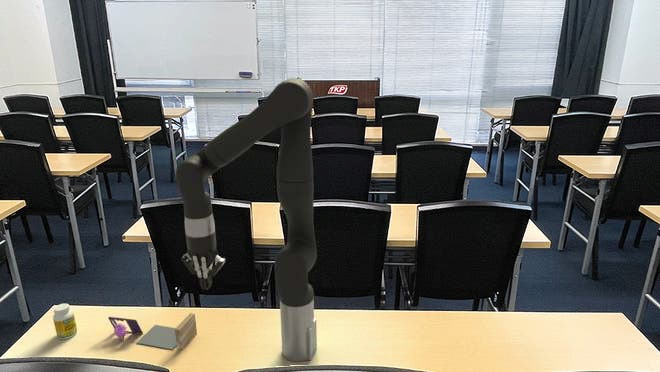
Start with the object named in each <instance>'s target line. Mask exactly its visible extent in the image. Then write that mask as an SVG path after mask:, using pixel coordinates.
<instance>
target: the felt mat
mask: <svg viewBox="0 0 660 372" xmlns="http://www.w3.org/2000/svg"><path fill="white" fill-rule="evenodd" d="M175 328H176V327H171V326H165V325H159V324H154V325H153V326H152V327H151V328H150V329H149V330H148V331H147V332H146V333H145V334H144V335H142V337H140V338H139V340H137V342H136V344H138V345H142V346H148V347H154V348H159V349H165V350H170V351H173V350H174V349H175V348H177V343H176V336H175Z"/></svg>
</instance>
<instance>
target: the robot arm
mask: <svg viewBox="0 0 660 372" xmlns="http://www.w3.org/2000/svg"><path fill="white" fill-rule="evenodd" d="M313 104H314V94H313V91H312V89H311V87H310V85H309V84H308V83H307V82H306V81H304V80H303V79H301V78H297V77H294V78H289V79H286V80H284V81H281V82H280V83H278V84H277V85H276V86H275V87H274V89H273V90H272V91H271V92H270V93H269V95H267V97H266V98H265V99H264V100H263V101H262V102H261V103H260V104H259V105H257V107H256V108H254V110H252V111H251V112H250V113H248V115H246V116H245V117H243V118H242V119H240V120H238V121H237V122H235V123H234V124H232V125H231V126H229V127H228V128H226V129H225V130H224V131H222V132H221V133H220V134H218V135H216V136H215V137H214V138H213V139H211V140H210V141H209V142H208V143H207V144H206V145H205V146H204V147H203V148H201V149H200V150H198V151H196V152H195V153H194V154H192V155H190V156H189V157H187V158H186V159H184V160H182V161H181V162H179V164H178V165H177V167H176V169H175V182H176V186H177V188H178V191H179V194H180V196H181V199H182V201H183V214H184V230H185V240H186V246H187V248H186V249H187V252H186V253H185V254H183V256H181V257H180V261H181V262H182V263H183V264H184V266H185V267H186V268H187V270H188V271H189V272H190V273H191V274H192V275H193V276H197V277H198V279H199V286H200V288H201V289H202V290H204V291H205V290H207V291H208V290H209V289H210V288H211V286H212V285H213V281H212V278H213V277H214V276H215V275H216V274H217V273H218V272H219V271H220V270H221V268H222V267H223V265H224V264H225V263H226V262H227V259H226V257H221V256H219V252H218V250H217V239H216V238H217V236H216V228H215V227H216V226H215V219H214V213H213V206H212V205H213V203H212V198H211V195H210V193H209V192H207V191H206V190H205V185H204V183H205V182H204V181H206V180H208V178H209V177H211V176H212V175H213V174H214V173H216V172H217V171H218V170H220V169H221V168H222V167H225V166H226V165H228V164H230V163H231V162H233V161H234V160H235V159H236V158H238V157H240V156H241V155H242V154H244V153H245V152H246V151H248V150H249V149H250V148H251V147H252V146H254V145H255V144H256V143H257V142H258V141H259V140H261V139H262V138H264V137H265V136H267V135H268V134H269V133H271V132H273V131H274V130H277V129H278V128H280V129H281V138H280V144H279V145H280V146H279V152H278V158H277V165H276V191H277V192H276V193H277V197H278V201H279V204H280V207H281V209H282V210H283V212H284V214H285V217H286V221H287V241H286V244H285V245H284V246H283V248H281V249H280V250H279V251H278V252H277V254H276V256H275V258H274V277H275V278H274V279H275V287H276V291H277V293H278V295H279V308H280V310H279V312H280V314H279V315H280V332H281V333H280V335H281V336H280V337H281V351H282V352H281V353H282V356H283V357H284V358H285V359H286V360H288V361H292V362H303V361H312V359H313V356H314V355H315V352H316V350H317V347H318V344H317V343H318V342H317V341H318V338H317V337H318V336H317V334H318V332H317V318H315V308H314V307H315V303H314V302H315V301H314V300H315V299H314V296H315V295H314V293H315V292H314V288H313V285H311V284H310V283H309V280H308V279H309V277H308V276H309V274H308V273H309V272H310V271H311V270H312V268H313V267H314V265H315V264H316V261H317V258H318V257H317V256H318V254H317V243H316V236H315V228H314V194H315V193H314V190H315V188H314V187H315V186H314V165H313V163H314V162H313V150H312V142H311V141H312V139H311V131H312V130H311V128H312V127H311V125H312V114H313ZM213 264H214V265H215V266H214V267H213Z"/></svg>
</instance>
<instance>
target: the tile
mask: <svg viewBox="0 0 660 372" xmlns="http://www.w3.org/2000/svg"><path fill="white" fill-rule="evenodd" d="M174 328H175V336H176V343H177V346H176V348H177V351H182V352H183V351H184V349H185V348H186V347H187V346H188V345H189V344H190V342H191V341H192V340H193V339H194V338H195V337H196V335H198V332H197V330H198V329H197V322H196V314H195V313H191V312H189V313H188V315H187V316H186V317H184V319H183V320H182V321H181V322H180V323H179V324H178V325H177V326H176V327H174Z"/></svg>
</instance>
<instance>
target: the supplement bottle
mask: <svg viewBox="0 0 660 372" xmlns="http://www.w3.org/2000/svg"><path fill="white" fill-rule="evenodd" d="M53 312H54V314H53V316H52V318H53V325H54V329H55V333H56V336H57V339H59V340H69V339H70V338H73V337H75V336H76V335H77V333H78V329H77V328H78V327H77V323H76V318H75V314H74V310H72V309H71V308H70V304H69V303H60V304H58V305H56V306H55V307H54V308H53Z"/></svg>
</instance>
